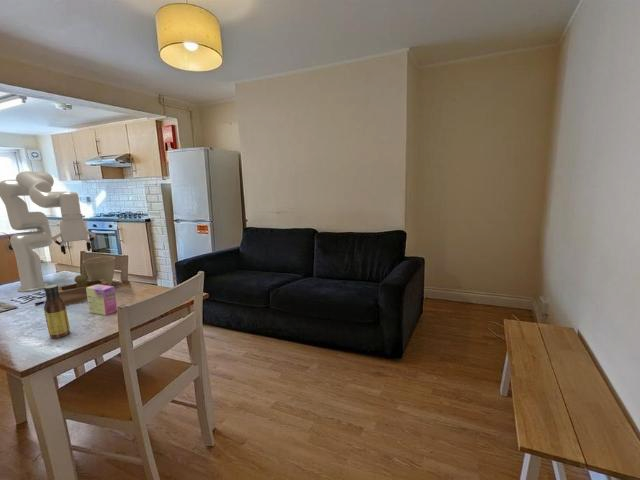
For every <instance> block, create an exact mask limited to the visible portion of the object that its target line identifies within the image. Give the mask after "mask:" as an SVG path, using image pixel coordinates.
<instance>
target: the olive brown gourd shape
mask: <svg viewBox="0 0 640 480" xmlns="http://www.w3.org/2000/svg"><path fill="white" fill-rule="evenodd" d="M87 281H88V275H86V274H81V275H76V276H75V277H74V282H75V283H76V288H80V287H85V286H88V284H87Z"/></svg>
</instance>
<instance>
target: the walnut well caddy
mask: <svg viewBox="0 0 640 480" xmlns="http://www.w3.org/2000/svg"><path fill="white" fill-rule="evenodd" d="M87 284H88V286H85V287H80V288H76V282H75V283H71V284H64V285H60V286H59V285H58V292H59V297H61V298H62V299H63V300H64V302H65V307H66V306H71V305H75V304H80V303H84V302H88V299H87V292H86V288H87V287H90V286H93V285H97V284H99V285H107V286H108V283H107V282H106V281H105V280H104V279H97V280H92V281H91V280H87Z"/></svg>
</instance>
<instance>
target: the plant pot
mask: <svg viewBox="0 0 640 480" xmlns="http://www.w3.org/2000/svg"><path fill="white" fill-rule="evenodd" d="M82 264H83V267H84V270H85V272H86V274H87V278H89V281H92V280H97V279H104V280H105V281H106V282H107V283H108V286H112V283H113V279H114V275H115V267H116V257H115V256H110V255H109V256H108V255H107V256H100V257H99V256H97V257H92V258H91V257H90V258H88V259H87V258H86V259H85V260H83V261H82Z"/></svg>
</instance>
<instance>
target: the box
mask: <svg viewBox="0 0 640 480" xmlns="http://www.w3.org/2000/svg"><path fill="white" fill-rule="evenodd" d="M86 292H87V299H88V301H87V306H88V313H90V314H91V313H92V314H98V315H101V316H102V315H103V316H108V315H110V314H112V313H115V312H117V311H116V308H117V309H118V307H117V299H116V289H115V286H113V285H111V286H107V285H99V284H97V285H93V286H90V287H87V288H86Z"/></svg>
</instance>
